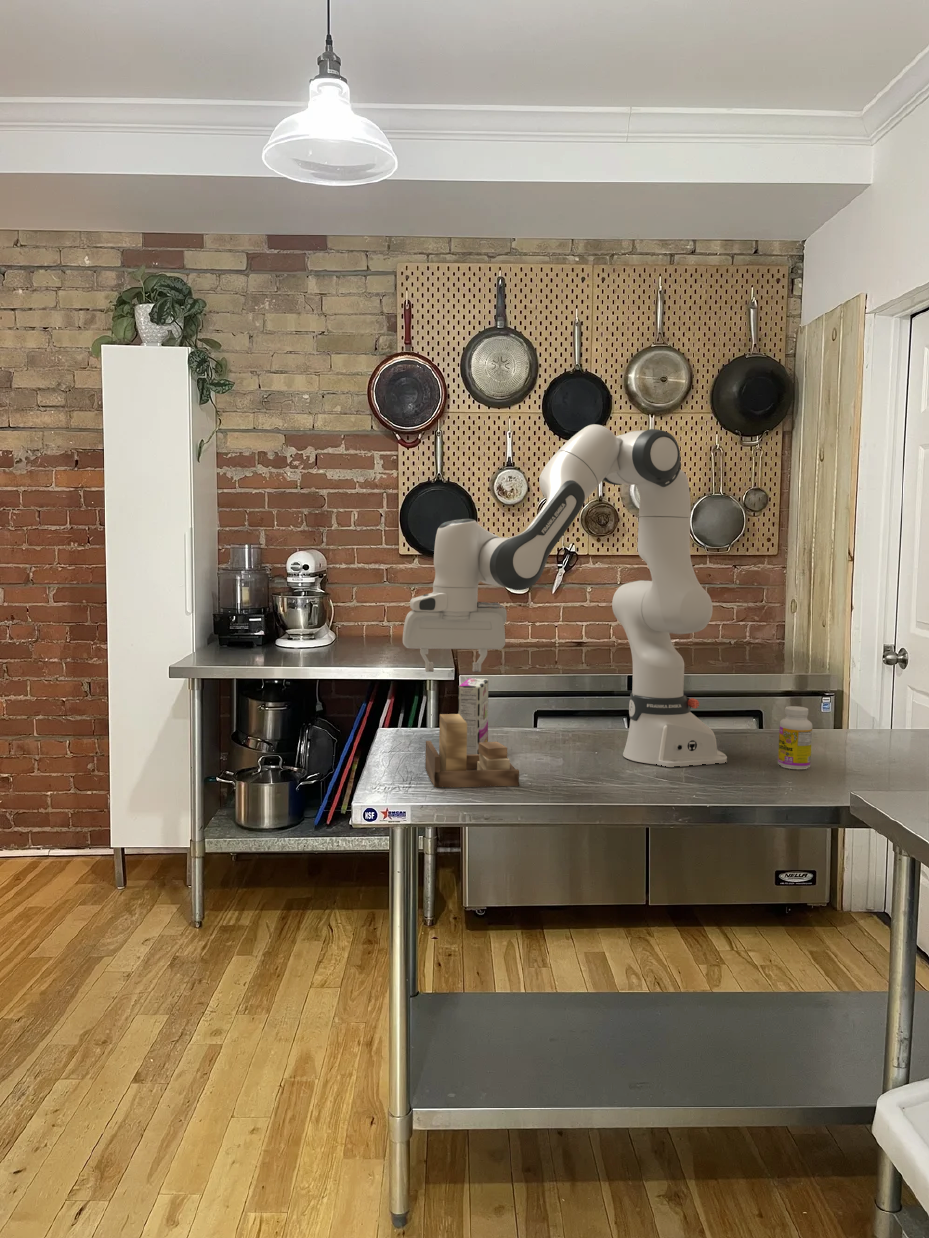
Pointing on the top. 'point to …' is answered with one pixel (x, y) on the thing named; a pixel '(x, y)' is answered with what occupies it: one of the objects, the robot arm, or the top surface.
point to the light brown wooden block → (452, 742)
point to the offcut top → (492, 750)
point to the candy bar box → (474, 711)
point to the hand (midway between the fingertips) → (453, 671)
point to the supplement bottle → (795, 738)
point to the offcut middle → (494, 763)
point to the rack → (467, 773)
